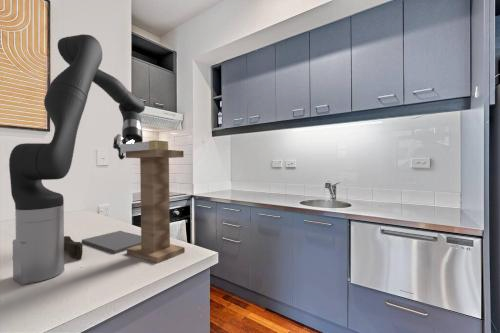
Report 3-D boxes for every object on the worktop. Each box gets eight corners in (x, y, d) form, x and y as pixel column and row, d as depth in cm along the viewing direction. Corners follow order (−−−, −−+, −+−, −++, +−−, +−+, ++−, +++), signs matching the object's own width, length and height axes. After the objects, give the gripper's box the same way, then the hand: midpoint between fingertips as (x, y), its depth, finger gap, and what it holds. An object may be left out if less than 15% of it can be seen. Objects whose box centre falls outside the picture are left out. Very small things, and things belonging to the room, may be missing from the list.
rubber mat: (115, 253, 76) (115, 250, 76) (81, 242, 88) (81, 239, 88) (153, 241, 88) (153, 238, 88) (119, 233, 99) (119, 230, 99)
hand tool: (56, 248, 82) (56, 235, 82) (71, 245, 85) (70, 232, 85) (69, 264, 69) (68, 248, 69) (85, 259, 72) (85, 244, 72)
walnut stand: (157, 263, 68) (156, 149, 68) (126, 253, 76) (125, 151, 76) (184, 252, 76) (183, 150, 76) (154, 244, 84) (153, 152, 84)
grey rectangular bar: (155, 150, 72) (155, 140, 72) (117, 152, 83) (117, 144, 83) (168, 151, 76) (168, 141, 76) (131, 153, 87) (131, 145, 87)
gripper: (121, 118, 94) (120, 149, 85) (152, 134, 105) (155, 163, 96) (110, 129, 96) (108, 161, 87) (142, 144, 107) (143, 173, 98)
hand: (133, 162), depth 92 cm, fingers open, 8 cm apart
